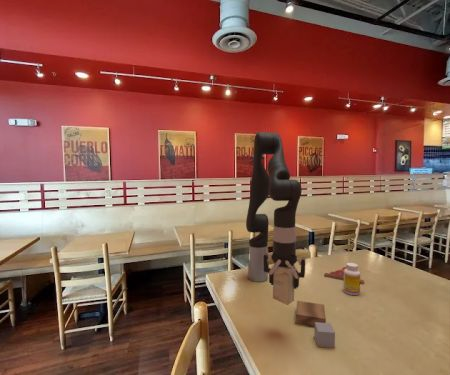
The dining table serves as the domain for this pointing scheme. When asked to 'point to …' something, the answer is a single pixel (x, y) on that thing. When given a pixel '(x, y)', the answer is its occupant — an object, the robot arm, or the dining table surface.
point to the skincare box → (283, 285)
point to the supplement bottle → (351, 279)
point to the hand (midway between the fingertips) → (283, 286)
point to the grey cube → (324, 334)
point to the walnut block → (309, 313)
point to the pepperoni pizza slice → (339, 275)
